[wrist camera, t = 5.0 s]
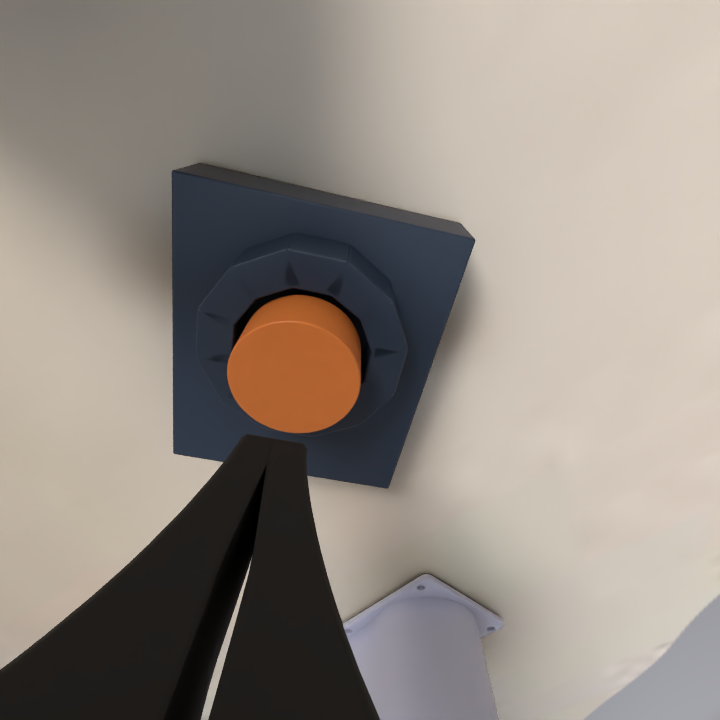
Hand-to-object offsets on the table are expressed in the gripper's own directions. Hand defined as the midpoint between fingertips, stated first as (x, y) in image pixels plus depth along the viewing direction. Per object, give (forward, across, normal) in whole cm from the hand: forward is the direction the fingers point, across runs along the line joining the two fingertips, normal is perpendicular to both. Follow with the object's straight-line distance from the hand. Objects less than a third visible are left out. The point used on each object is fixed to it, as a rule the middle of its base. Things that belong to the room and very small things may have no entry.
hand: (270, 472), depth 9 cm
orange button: (+6, 0, 0) cm, 6 cm away
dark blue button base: (+10, 0, +2) cm, 10 cm away
